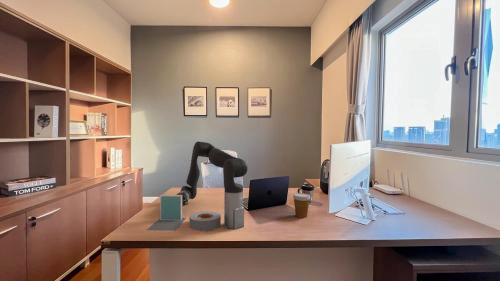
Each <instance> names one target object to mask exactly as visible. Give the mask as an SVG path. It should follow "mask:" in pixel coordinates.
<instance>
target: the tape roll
mask: <svg viewBox="0 0 500 281" xmlns="http://www.w3.org/2000/svg"><path fill="white" fill-rule="evenodd" d="M221 218H222V216H221V214H220V213H218V212H216V211H200V212H199V211H198V212H194V213H191V214H190V215H189V226H188V227H189V228H190V229H192V230H196V231H205V232H208V231H214V230H217V229H219V228H221V225H222V222H221V221H222V220H221Z"/></svg>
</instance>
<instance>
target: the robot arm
mask: <svg viewBox="0 0 500 281" xmlns="http://www.w3.org/2000/svg"><path fill="white" fill-rule="evenodd" d="M199 157H200V158H201V157H202V158H207V159H208V161H209V163H211V165H213V166H215V167H217V168H221V169H222V172H223V173H222V174H223V187H224V188H223V189H224V192H223V193H224V199H223V200H224V202H223V205H224V206H223V207H224V208H223V209H224V211H223V213H224V214H223V215H224V217H223V218H224V220H223V222H224V224H223V225H224V228H227V229H233V230H237V229H240V228H243V227H245V207H244V186H243V185H242V184H240V183H237V182H235V178H236V179H237V178H242V177H245V175H247V173H248V165H247V163H246V161H245V160H244V159H242V158H239V157H236V156H233V155H231V154H229V153H228V152H225V151H224V150H222V149H220V148H217V147H215V146H213V144H211V143H209V142H206V141H195V143H194V146H193V147H192V154H191V160H190V166H189V171H188V174H187V178H186V180H185V182H186V184H187V185H183V186H182V187H181V188H180V191H179V192H178V193H176V194H175V195H182V207H184V206H188V205H189V200H194V199H195V198H196V196H197V192H198V189H197V188H198V187H197V186H198V182H199V179H200V175H201V173H200V172H201V171H200V167H199V165H198V158H199Z"/></svg>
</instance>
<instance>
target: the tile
mask: <svg viewBox="0 0 500 281" xmlns="http://www.w3.org/2000/svg"><path fill="white" fill-rule="evenodd" d="M159 198H160V199H159V200H160V202H159V204H160V205H159V206H160V207H159V212H160V213H159V216H160V217H159V218H160V220H182V218H183V206H182V195H176V194H160V196H159Z"/></svg>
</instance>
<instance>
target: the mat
mask: <svg viewBox="0 0 500 281" xmlns="http://www.w3.org/2000/svg"><path fill="white" fill-rule="evenodd" d="M186 219H187V218H186V217H182V220H160V217H159V218H158V219H156V221H154V222H153V224H151V225H150V226H149V227H148V228H147V229H146V231H175V232H176V231H177V230H178V229H179V228H180V226H181V225H182V224H183V223H184V221H185V220H186Z"/></svg>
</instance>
